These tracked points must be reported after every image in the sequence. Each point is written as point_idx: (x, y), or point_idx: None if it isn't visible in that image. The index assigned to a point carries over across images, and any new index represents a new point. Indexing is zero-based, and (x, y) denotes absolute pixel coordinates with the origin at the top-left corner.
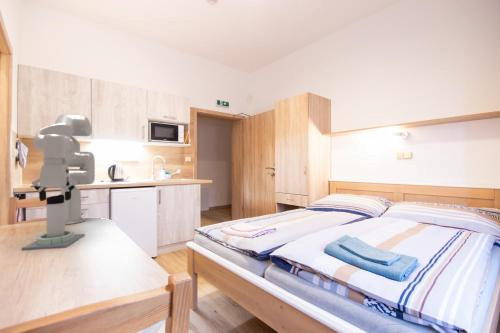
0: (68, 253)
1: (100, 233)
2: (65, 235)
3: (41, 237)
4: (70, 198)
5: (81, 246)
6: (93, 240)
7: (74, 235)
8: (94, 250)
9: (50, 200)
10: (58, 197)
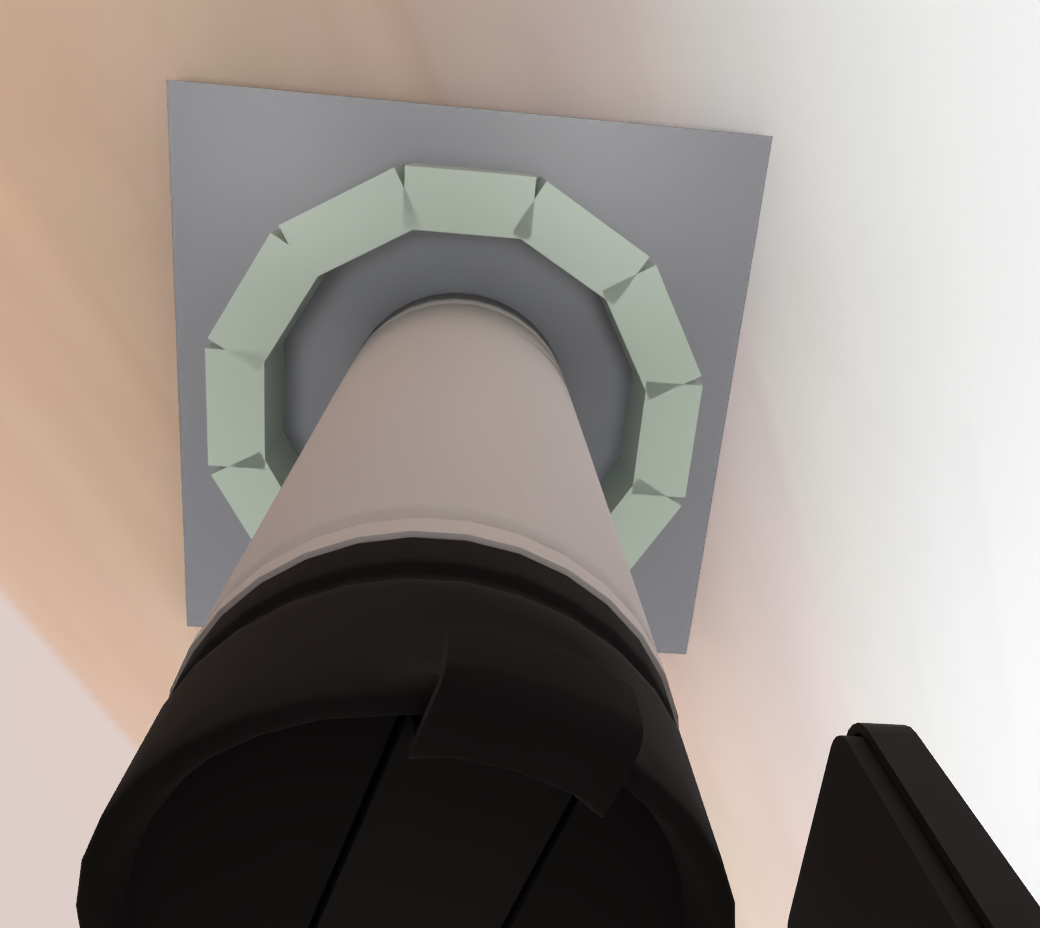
0: (768, 821)
1: (992, 64)
2: (624, 516)
3: (269, 442)
4: (917, 738)
5: (842, 644)
6: (940, 442)
7: (639, 215)
8: (1005, 800)
9: None
10: (500, 878)
